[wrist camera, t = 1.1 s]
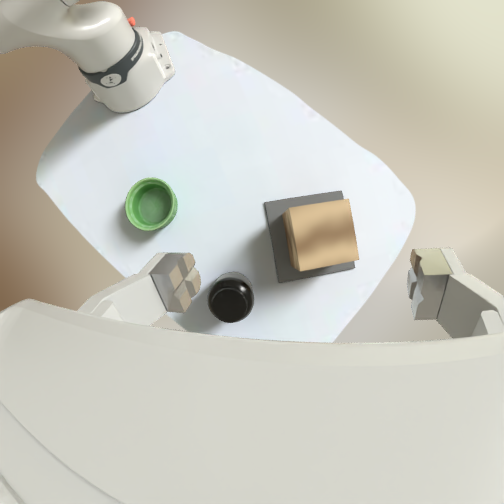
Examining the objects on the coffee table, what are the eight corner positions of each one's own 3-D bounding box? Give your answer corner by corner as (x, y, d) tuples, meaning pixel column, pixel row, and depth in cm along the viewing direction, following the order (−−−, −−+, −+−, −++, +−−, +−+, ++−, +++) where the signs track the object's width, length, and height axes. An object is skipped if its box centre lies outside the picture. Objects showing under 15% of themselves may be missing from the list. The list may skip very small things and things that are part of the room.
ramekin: (126, 201, 48) (116, 197, 44) (165, 172, 48) (157, 166, 44) (149, 241, 48) (140, 241, 44) (189, 213, 48) (184, 210, 44)
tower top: (285, 211, 43) (289, 207, 39) (339, 202, 43) (348, 198, 39) (295, 268, 44) (300, 271, 39) (348, 258, 44) (359, 259, 39)
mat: (264, 202, 48) (265, 202, 48) (341, 191, 48) (341, 190, 48) (279, 282, 49) (279, 283, 48) (354, 267, 49) (355, 267, 48)
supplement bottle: (225, 316, 49) (217, 338, 37) (206, 282, 49) (193, 294, 37) (260, 299, 49) (263, 316, 37) (241, 264, 48) (239, 271, 36)
